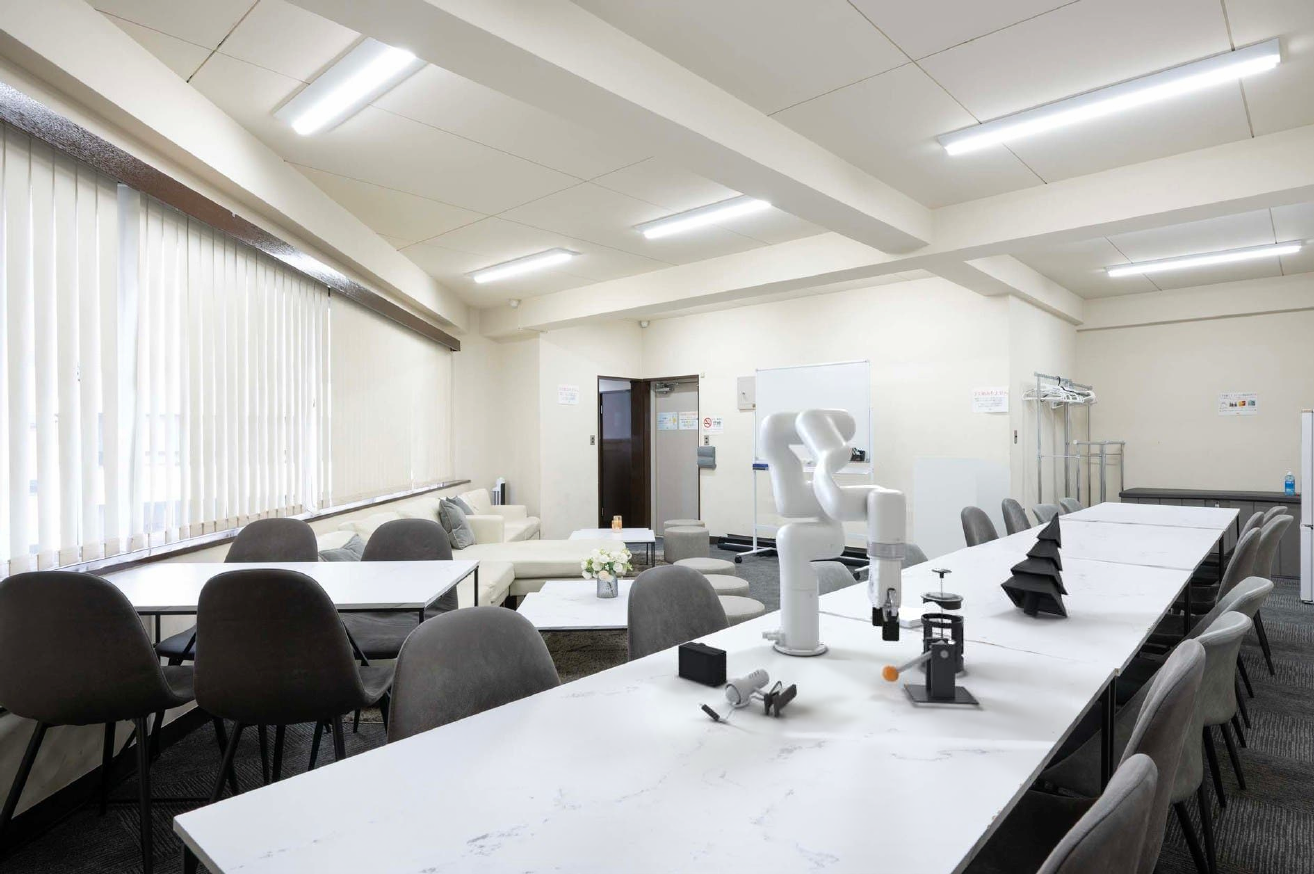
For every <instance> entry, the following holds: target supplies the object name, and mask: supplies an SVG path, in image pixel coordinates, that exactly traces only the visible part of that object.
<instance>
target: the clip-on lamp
mask: <svg viewBox="0 0 1314 874" xmlns="http://www.w3.org/2000/svg"><path fill="white" fill-rule="evenodd" d="M769 683H770V676H769V673H768V672H767V671H766V670H765V669H763V668H758V669H756V670H754V671H752V672H750V673H749V674H747V675H745V676H744V677H741V678H739V677H737V678H731V679H730V680H729V681H728V682H726V683H725V687H724V690H725V691H724V692H725V694H724V695H725V699H727V701H728V702H729V703H731V709H730V712H729V713H728V714H727V716H726V717H725V718H724V719H721V716H720V714H718V713H717V712H716V711H714V709H712V708H711V707H710V706H709V705H707V704H706V703H704V704H702V702H701V703H699V704H698V705H699V706H700V707H701V710H702V711H703V712H704V713H706V714H707V715H708V716H709V717H710V718H712V719H713V720H714V721H715V722H717V721H719V722H724V721H726V720H728V718H729V717H730V716H731V714H732V713H733V710H734V708H741V707H744V706H747V705H748V704H749V703H750V702H751V701H752V699H754V700H757V701H761V702H763V706H764V714H765V715H766V716H769V714H770V713H771V708H772V706H773V713H774V717H775V718H778V717H779V716H780V715H781V710H782V709H783V708H784V707H786V705H788V704H789V703H790V702H791V701H792V700H794V698H796V697H797V694H798V690H797V689H798V687H797V684H795V683H792V684H791V685H790V686H785V687H783V683H782V681H781V680H778V681H777V682H776V683H775V684H774V685H773V687H772V688H771V690H770V691H769V692H766V691H764V690H762V689H763V688H764V687H766V686H767V685H769ZM755 693H756V694H758V695H760V696H762V697H763V698H762V697H760V696H757V695H754V694H755Z"/></svg>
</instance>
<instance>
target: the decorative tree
mask: <svg viewBox="0 0 1314 874" xmlns="http://www.w3.org/2000/svg"><path fill="white" fill-rule="evenodd" d="M1061 535H1062V534H1061V526H1060V516H1059V512H1058V511H1057V512H1055V514H1054V516H1053V517H1052V518H1051V520H1050V521H1049V523H1048V524H1047V525H1046V526H1045V527H1044V528H1043V529H1041V530H1040V531H1039V533H1038V534H1037V536H1035V537H1036V539H1037V541H1036V542H1035V543H1034V545H1033V546H1032V548H1030V550H1029V551H1027V553H1026V554H1025V556H1026V557H1027V558H1026V559H1024V560H1022V561H1019V562H1018V563H1015V564H1014V565H1013V566H1012V567H1011V568H1010V569H1009V571H1010V573H1011V575H1012V576H1010V577H1009V578H1008V579H1007V580H1006V581H1004V582H1003V583H1001V584H1000V585H999V586H1000V587H1001V588H1002V589H1003V591H1004V593H1005V594H1006V595H1007V597H1008V599H1010V601H1011V602H1012V603H1013V605H1014V606H1015V608H1017V609H1021V610H1023V611H1022V613H1023V614H1025V615H1027V616H1028V617H1034V618H1035V617H1037V616H1038V613H1044V614H1049V615H1056V616H1058V617H1059V616H1060V617H1064V618H1068V614H1067V608H1066V606H1065V604H1064V602H1063V598H1062V595H1064V596H1069V593H1068V592H1067V590H1066V588H1065V586H1064V581H1063V578H1062V575H1061V573H1060V572H1064V570H1063V565H1062V559H1061V558H1062V557H1061V554H1060V551H1059V549H1060V550H1062V549H1063V548H1062V536H1061Z"/></svg>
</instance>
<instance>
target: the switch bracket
mask: <svg viewBox="0 0 1314 874" xmlns="http://www.w3.org/2000/svg"><path fill="white" fill-rule="evenodd" d="M937 637H938V636H933V637H925V653H927V652H929V651H931V658H930V659H928V660H926V661H925V668H924V670H925V674H924V675H925V676H924V677H925V679H924V680H925V681H924V682H925V684H908V683H907V684H905V683H904V684H903V687H904V688H905V690H906V692H907V693H908V694H909V696H910V697H911V699H912V700H913V702H914V703H923V704H924V703H925V704H927V703H929V704H951V705H952V704H953V705H977V706H979V705H980V702H979V701H978V700H977V699H976V697H974V696H973V695H972V694H971V692H969V690H967V688H966V687H965V686H962V685H956V673H955V645H954V644H950V643H949V639H950V638H949V639H948V637H944V638H937ZM941 640H942V641H943V642H944V643H937V642H939V641H941ZM930 645H931V648H930V647H929V646H930Z"/></svg>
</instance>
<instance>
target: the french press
mask: <svg viewBox="0 0 1314 874" xmlns="http://www.w3.org/2000/svg"><path fill="white" fill-rule="evenodd" d="M931 572H933V573H936V574H937V573H938V575H939V579H940V591H928V592H922V593H921V594H920V597H921V598H922V604H923V605H924V604H926V603H935V605H937V606H938V607H940V612H930V613H926V614H922V615H921V623H922V624H923V625H922V627H923V632H922V634H923V639H922V645H923V651H922V652H920V655H922V654H924V653H925V637H934V636H933V629H934V628H935V629H940V636H936V637H937V638H945V637H944V630H950V638H948V637H947V638H948V639H949V643H950V644H954V645H955V674H960V673H962V672H963V671H964V670H965V666H964V665H965V663H964V662H965V660H964V659H965V658H964V657H963V655H964V654H965V644H964V643H965V641H964V640H965V639H964V638H965V637H964V635H965V633H964V631H965V630H964V628H965V625H964V620H965V619H964V616H963V615H960V614H951V613H945V612H944V610H945V611H958V610H960V609H962V602H963V601H964V597H963V596H962V595H959V594H955V593H950V592H943V591H944V590H943V589H944V587H943V585H944V584H943V583H944V582H943V581H944V579H945V574H951V573H953V572H952V570H951V569H948V568H933V569H931ZM929 619H938V620H940V621H936V622H934V621H930V620H929ZM944 620H948V621H950V622H944ZM920 666H921V667H922V668H923V669H925V661H924V662H922V663H920Z"/></svg>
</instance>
